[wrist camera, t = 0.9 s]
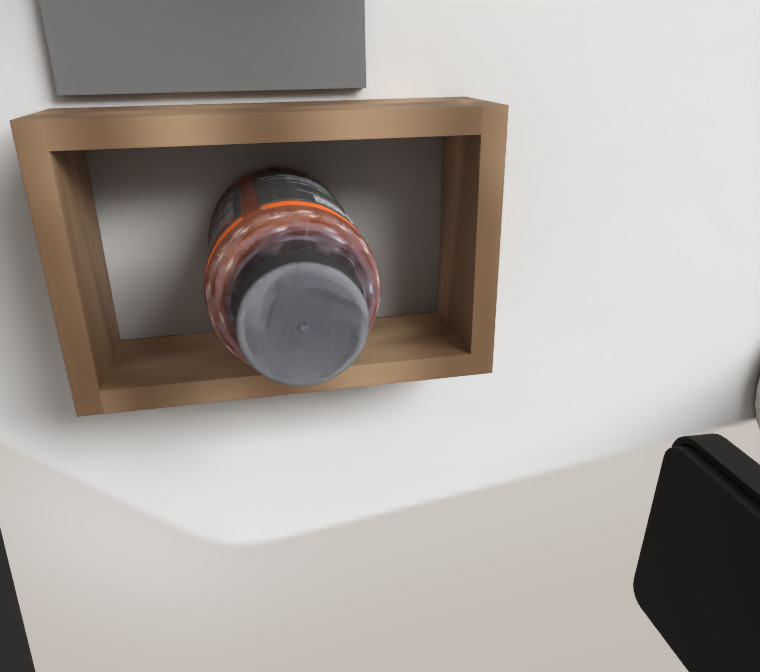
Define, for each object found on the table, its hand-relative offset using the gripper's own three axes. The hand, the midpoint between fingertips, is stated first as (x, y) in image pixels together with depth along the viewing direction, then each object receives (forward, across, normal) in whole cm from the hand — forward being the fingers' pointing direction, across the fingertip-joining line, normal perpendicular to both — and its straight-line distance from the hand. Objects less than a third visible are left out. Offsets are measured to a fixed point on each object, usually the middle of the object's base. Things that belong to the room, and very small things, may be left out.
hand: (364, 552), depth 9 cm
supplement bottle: (+22, 0, +1) cm, 22 cm away
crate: (+22, 0, +1) cm, 22 cm away
